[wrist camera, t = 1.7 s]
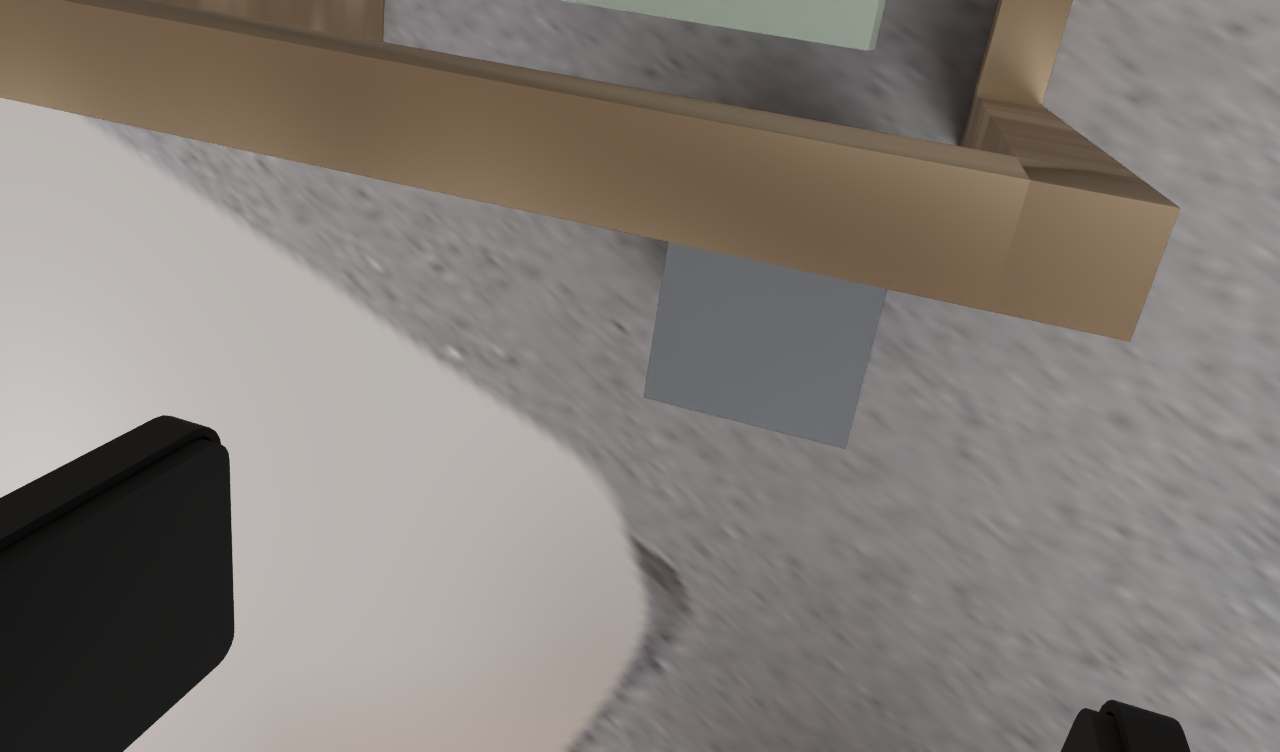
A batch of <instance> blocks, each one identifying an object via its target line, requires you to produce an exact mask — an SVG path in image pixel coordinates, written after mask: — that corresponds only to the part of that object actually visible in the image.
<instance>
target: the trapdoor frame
mask: <svg viewBox="0 0 1280 752" xmlns="http://www.w3.org/2000/svg"><path fill="white" fill-rule="evenodd" d="M1072 1H1073V0H999V2H998V6H997V10H996V13H995V17H994V21H993V24H992V28H991V32H990V35H989V39H988V43H987V46H986V50H985V54H984V57H983V61H982V65H981V68H980V72H979V76H978V79H977V83H976V87H975V90H974V94H973V98H972V101H971V105H970V109H969V112H968V116H967V120H966V124H965V127H964V131H963V135H962V138H961V142H960V146H954V145H949V144H943V143H938V142H932V141H926V140H921V139H915V138H910V137H904V136H899V135H893V134H888V133H882V132H877V131H871V130H866V129H860V128H855V127H849V126H844V125H838V124H833V123H827V122H822V121H816V120H811V119H805V118H800V117H794V116H788V115H783V114H777V113H772V112H766V111H761V110H755V109H750V108H744V107H739V106H733V105H728V104H722V103H717V102H711V101H706V100H700V99H695V98H689V97H684V96H678V95H673V94H667V93H661V92H656V91H650V90H645V89H639V88H634V87H628V86H623V85H617V84H612V83H606V82H601V81H595V80H590V79H584V78H579V77H573V76H568V75H562V74H557V73H551V72H546V71H540V70H535V69H529V68H523V67H518V66H512V65H507V64H501V63H496V62H490V61H485V60H479V59H474V58H468V57H463V56H457V55H452V54H446V53H441V52H435V51H430V50H424V49H419V48H413V47H408V46H402V45H397V44H391V43H385V42H383V13H384V0H0V97H1V98H5V99H10V100H15V101H19V102H24V103H29V104H34V105H38V106H43V107H47V108H52V109H56V110H61V111H66V112H70V113H75V114H79V115H84V116H89V117H93V118H98V119H103V120H107V121H112V122H116V123H121V124H126V125H130V126H135V127H140V128H144V129H149V130H153V131H158V132H163V133H167V134H172V135H177V136H181V137H186V138H191V139H195V140H200V141H204V142H209V143H214V144H218V145H223V146H228V147H232V148H237V149H241V150H246V151H251V152H255V153H260V154H265V155H269V156H274V157H278V158H283V159H288V160H292V161H297V162H302V163H306V164H311V165H315V166H320V167H325V168H329V169H334V170H339V171H343V172H348V173H352V174H357V175H362V176H366V177H371V178H376V179H380V180H385V181H389V182H394V183H399V184H403V185H408V186H413V187H417V188H422V189H426V190H431V191H436V192H440V193H445V194H450V195H454V196H459V197H463V198H468V199H473V200H477V201H482V202H487V203H491V204H496V205H500V206H505V207H510V208H514V209H519V210H524V211H528V212H533V213H537V214H542V215H547V216H551V217H556V218H561V219H565V220H570V221H574V222H579V223H584V224H588V225H593V226H598V227H602V228H607V229H611V230H616V231H621V232H625V233H630V234H635V235H639V236H644V237H649V238H653V239H658V240H662V241H667V242H672V243H676V244H681V245H686V246H690V247H695V248H699V249H704V250H709V251H713V252H718V253H723V254H727V255H732V256H736V257H741V258H746V259H750V260H755V261H760V262H764V263H769V264H773V265H778V266H783V267H787V268H792V269H797V270H801V271H806V272H810V273H815V274H820V275H824V276H829V277H834V278H838V279H843V280H847V281H852V282H857V283H861V284H866V285H871V286H875V287H880V288H884V289H889V290H894V291H898V292H903V293H908V294H912V295H917V296H921V297H926V298H931V299H935V300H940V301H945V302H949V303H954V304H958V305H963V306H968V307H972V308H977V309H982V310H986V311H991V312H995V313H1000V314H1005V315H1009V316H1014V317H1019V318H1023V319H1028V320H1032V321H1037V322H1042V323H1046V324H1051V325H1056V326H1060V327H1065V328H1069V329H1074V330H1079V331H1083V332H1088V333H1093V334H1097V335H1102V336H1107V337H1111V338H1116V339H1120V340H1125V341H1131V338H1132V336H1133V333H1134V330H1135V328H1136V325H1137V322H1138V320H1139V317H1140V314H1141V312H1142V309H1143V306H1144V304H1145V301H1146V298H1147V296H1148V293H1149V290H1150V287H1151V285H1152V282H1153V279H1154V277H1155V274H1156V271H1157V269H1158V266H1159V263H1160V261H1161V258H1162V255H1163V253H1164V250H1165V247H1166V245H1167V242H1168V239H1169V237H1170V234H1171V231H1172V228H1173V226H1174V223H1175V220H1176V218H1177V215H1178V212H1179V210H1180V208H1179V207H1178V206H1177V205H1175V204H1174V203H1173V202H1171V201H1170V200H1169V199H1167V198H1166V197H1165V196H1163V195H1162V194H1161V193H1159V192H1158V191H1157V190H1155V189H1154V188H1152V187H1151V186H1150V185H1148V184H1147V183H1146V182H1144V181H1143V180H1142V179H1140V178H1139V177H1138V176H1136V175H1135V174H1134V173H1132V172H1131V171H1130V170H1128V169H1127V168H1126V167H1124V166H1123V165H1122V164H1120V163H1119V162H1117V161H1116V160H1115V159H1113V158H1112V157H1111V156H1109V155H1108V154H1107V153H1105V152H1104V151H1103V150H1101V149H1100V148H1099V147H1097V146H1096V145H1095V144H1093V143H1092V142H1091V141H1089V140H1088V139H1087V138H1085V137H1084V136H1082V135H1081V134H1080V133H1078V132H1077V131H1076V130H1074V129H1073V128H1072V127H1070V126H1069V125H1068V124H1066V123H1065V122H1064V121H1062V120H1061V119H1060V118H1058V117H1057V116H1056V115H1054V114H1053V113H1051V112H1050V111H1049V110H1047V109H1046V108H1045V107H1043V106H1042V105H1041V104H1042V101H1043V98H1044V94H1045V91H1046V88H1047V85H1048V81H1049V78H1050V75H1051V71H1052V68H1053V65H1054V61H1055V58H1056V55H1057V51H1058V48H1059V45H1060V41H1061V38H1062V35H1063V31H1064V28H1065V25H1066V21H1067V18H1068V15H1069V11H1070V8H1071V5H1072Z"/></svg>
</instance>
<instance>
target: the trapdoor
mask: <svg viewBox="0 0 1280 752" xmlns="http://www.w3.org/2000/svg"><path fill="white" fill-rule="evenodd" d="M561 1H567V2H573V3H579V4H585V5H591V6H597V7H603V8H609V9H615V10H622V11H628V12H634V13H640V14H646V15H652V16H658V17H664V18H670V19H676V20H682V21H689V22H695V23H701V24H707V25H713V26H719V27H725V28H731V29H737V30H743V31H750V32H756V33H762V34H768V35H774V36H780V37H786V38H792V39H798V40H804V41H810V42H817V43H823V44H829V45H835V46H841V47H847V48H853V49H859V50H865V51H870V50H874V49H875V47H876V43H877V39H878V34H879V30H880V26H881V21H882V17H883V12H884V8H885V4H886V0H561Z"/></svg>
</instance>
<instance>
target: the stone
mask: <svg viewBox="0 0 1280 752" xmlns="http://www.w3.org/2000/svg"><path fill="white" fill-rule="evenodd" d="M885 293H886V289H884V288H880V287H875V286H871V285H866V284H861V283H857V282H852V281H847V280H843V279H838V278H834V277H829V276H824V275H820V274H815V273H810V272H806V271H801V270H797V269H792V268H787V267H783V266H778V265H773V264H769V263H764V262H760V261H755V260H750V259H746V258H741V257H736V256H732V255H727V254H723V253H718V252H713V251H709V250H704V249H699V248H695V247H690V246H686V245H681V244H676V243H672V242H668V246H667V253H666V259H665V265H664V272H663V278H662V284H661V291H660V297H659V303H658V309H657V316H656V322H655V328H654V335H653V341H652V347H651V354H650V360H649V366H648V373H647V379H646V385H645V392H644V398H647V399H651V400H655V401H659V402H663V403H667V404H671V405H675V406H678V407H682V408H686V409H690V410H694V411H698V412H702V413H706V414H710V415H714V416H718V417H722V418H726V419H730V420H733V421H737V422H741V423H745V424H749V425H753V426H757V427H761V428H765V429H769V430H773V431H777V432H781V433H785V434H789V435H792V436H796V437H800V438H804V439H808V440H812V441H816V442H820V443H824V444H828V445H832V446H836V447H840V448H844V449H846V445H847V441H848V437H849V433H850V429H851V425H852V421H853V417H854V414H855V410H856V406H857V402H858V398H859V394H860V390H861V386H862V383H863V379H864V375H865V371H866V367H867V363H868V359H869V355H870V351H871V348H872V344H873V340H874V336H875V332H876V328H877V324H878V320H879V317H880V313H881V309H882V305H883V301H884V297H885Z"/></svg>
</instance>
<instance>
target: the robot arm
mask: <svg viewBox="0 0 1280 752" xmlns="http://www.w3.org/2000/svg"><path fill="white" fill-rule="evenodd" d="M233 638H234V601H233V566H232V532H231V499H230V463H229V454H228V451H227V449H226V448H225V447H224V446H223V445H221V442H220V438H219V436H218V434H217V433H216V431H214V430H213V429H211V428H209V427H206V426H202V425H199V424H196V423H192V422H189V421H186V420H182V419H179V418H176V417H172V416H164V415H163V416H160V417H157V418H154V419H152V420H150V421H148V422H146V423H144V424H143V425H141V426H139V427H137V428H135V429H133V430H131V431H129V432H127V433H125V434H123V435H121V436H119V437H117V438H115V439H114V440H112V441H110V442H108V443H106V444H104V445H102V446H100V447H98V448H96V449H94V450H92V451H90V452H88V453H87V454H85V455H83V456H81V457H79V458H77V459H75V460H73V461H71V462H69V463H67V464H65V465H63V466H61V467H59V468H58V469H56V470H54V471H52V472H50V473H48V474H46V475H44V476H42V477H40V478H38V479H37V480H34V481H32V482H31V483H29V484H27V485H25V486H23V487H21V488H19V489H17V490H15V491H13V492H11V493H9V494H8V495H5V496H3V497H2V498H0V752H123V751H124V750H125V749H126V748H127V747H128V746H130V745H131V744H132V743H133V742H134V741H135V740H136V739H137V738H138V737H140V736H141V735H142V734H143V733H144V732H145V731H146V730H147V729H148V728H149V727H151V725H153V724H154V723H155V722H156V721H157V720H158V719H159V718H160V717H162V716H163V715H164V714H165V713H166V712H167V711H168V710H169V709H170V708H171V707H172V706H174V705H175V704H176V703H177V702H178V701H179V700H180V699H181V698H182V697H184V696H185V695H186V694H187V693H188V692H189V691H190V690H191V689H192V688H193V687H195V686H196V685H197V684H198V683H199V682H200V681H201V680H202V679H203V678H204V677H205V676H207V675H208V674H209V673H210V672H211V671H212V670H213V669H214V668H215V667H217V666H218V665H219V664H220V662H221V661H222V660H223V659H224V657H225V656H226V654H227V653H228V651H229V649H230V647H231V645H232V641H233ZM1061 752H1190V749H1189V746H1188V743H1187V740H1186V737H1185V734H1184V732H1183V729H1182V727H1181V725H1180V723H1179V722H1178V721H1177V720H1175V719H1174V718H1171V717H1168V716H1165V715H1161V714H1158V713H1155V712H1151V711H1148V710H1145V709H1141V708H1138V707H1135V706H1131V705H1128V704H1125V703H1121V702H1118V701H1115V700H1110V701H1107V702H1106V703H1105V704H1104V705H1103V706H1102V707H1101V709H1100V711H1099V712H1097V711H1094V710H1091V709H1087V708H1084V709H1082V710H1081V711H1080V712H1079V713H1078V715H1077V717H1076V719H1075V721H1074V723H1073V725H1072V728H1071V730H1070V732H1069V734H1068V737H1067V739H1066V741H1065V743H1064V746H1063V748H1062V750H1061Z"/></svg>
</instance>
